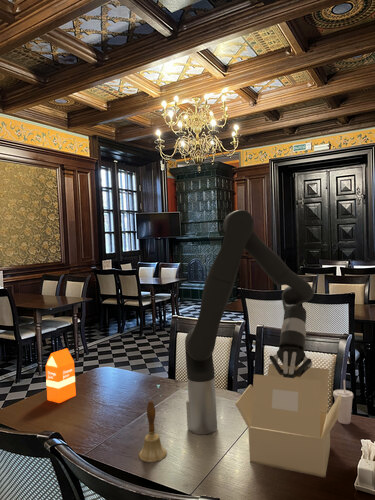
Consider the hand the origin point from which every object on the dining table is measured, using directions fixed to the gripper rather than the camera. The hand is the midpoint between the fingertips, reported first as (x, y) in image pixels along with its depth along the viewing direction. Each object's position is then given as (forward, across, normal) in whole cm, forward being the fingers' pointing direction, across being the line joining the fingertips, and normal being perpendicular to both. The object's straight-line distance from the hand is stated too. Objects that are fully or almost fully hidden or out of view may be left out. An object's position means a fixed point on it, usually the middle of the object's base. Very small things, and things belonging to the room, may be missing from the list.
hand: (287, 388), depth 109 cm
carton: (+10, 0, +18) cm, 20 cm away
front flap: (+5, 0, -1) cm, 5 cm away
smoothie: (-5, +13, +33) cm, 36 cm away
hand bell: (+23, -38, +5) cm, 45 cm away
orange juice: (+5, -97, +23) cm, 100 cm away
